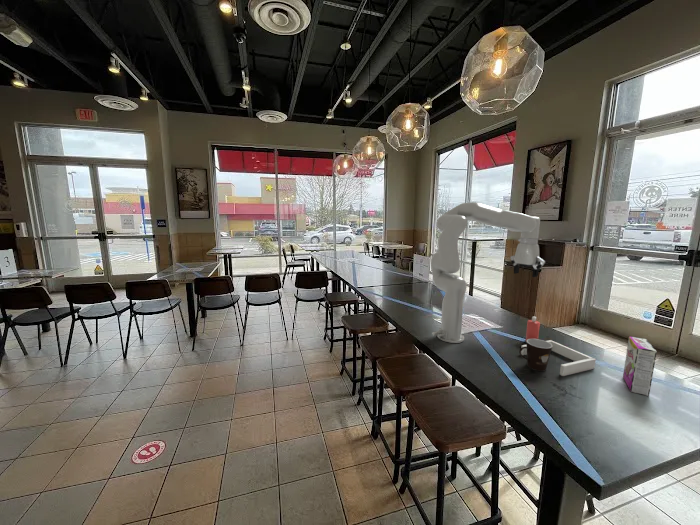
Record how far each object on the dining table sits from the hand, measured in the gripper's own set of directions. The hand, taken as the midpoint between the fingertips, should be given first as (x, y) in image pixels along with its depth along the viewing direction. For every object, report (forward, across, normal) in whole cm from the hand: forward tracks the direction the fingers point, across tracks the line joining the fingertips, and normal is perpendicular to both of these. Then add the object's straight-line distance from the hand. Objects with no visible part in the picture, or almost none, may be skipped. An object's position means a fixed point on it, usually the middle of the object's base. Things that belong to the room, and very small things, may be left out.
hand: (525, 275), depth 148 cm
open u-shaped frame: (+30, +28, -18) cm, 44 cm away
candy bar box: (+30, +51, -12) cm, 60 cm away
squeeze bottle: (+30, +12, -9) cm, 33 cm away
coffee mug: (+30, +26, -31) cm, 50 cm away
